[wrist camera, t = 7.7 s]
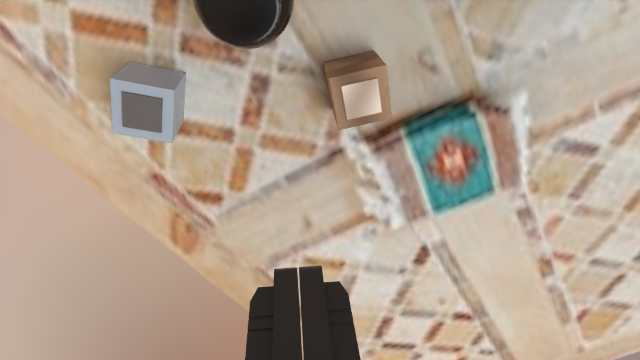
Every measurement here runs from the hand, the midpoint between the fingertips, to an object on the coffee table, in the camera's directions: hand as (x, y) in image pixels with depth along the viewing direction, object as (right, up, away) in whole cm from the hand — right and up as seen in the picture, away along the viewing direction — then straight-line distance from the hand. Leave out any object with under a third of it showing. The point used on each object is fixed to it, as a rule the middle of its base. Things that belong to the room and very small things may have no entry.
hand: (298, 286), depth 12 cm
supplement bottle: (-5, +20, +21) cm, 29 cm away
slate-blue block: (-15, +12, +25) cm, 31 cm away
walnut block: (+4, +13, +26) cm, 30 cm away
